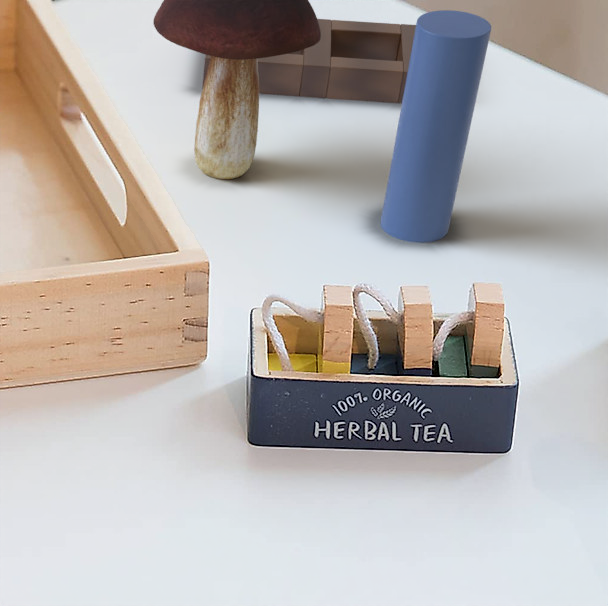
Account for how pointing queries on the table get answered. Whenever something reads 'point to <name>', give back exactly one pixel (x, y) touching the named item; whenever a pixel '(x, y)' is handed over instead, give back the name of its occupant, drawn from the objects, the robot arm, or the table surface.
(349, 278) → the table surface
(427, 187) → the peg
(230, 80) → the decorative mushroom
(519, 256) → the table surface
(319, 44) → the rack
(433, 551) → the table surface
